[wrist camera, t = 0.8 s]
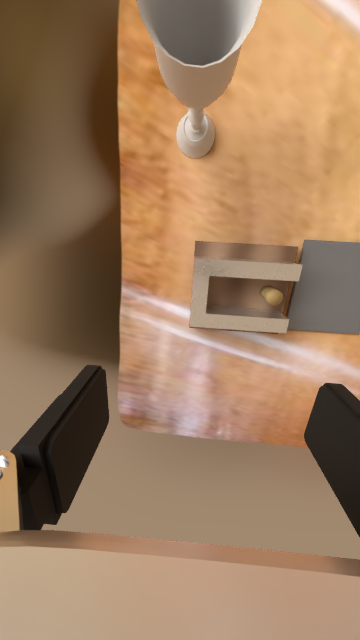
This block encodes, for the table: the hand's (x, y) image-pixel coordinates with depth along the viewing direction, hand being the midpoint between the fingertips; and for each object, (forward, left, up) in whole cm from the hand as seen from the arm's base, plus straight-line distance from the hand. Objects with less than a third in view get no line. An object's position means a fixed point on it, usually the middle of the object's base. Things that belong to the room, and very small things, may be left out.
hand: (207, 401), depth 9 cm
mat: (-21, -1, -27) cm, 34 cm away
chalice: (+2, -20, -27) cm, 34 cm away
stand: (-6, 0, -27) cm, 28 cm away
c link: (-5, 0, -24) cm, 25 cm away
